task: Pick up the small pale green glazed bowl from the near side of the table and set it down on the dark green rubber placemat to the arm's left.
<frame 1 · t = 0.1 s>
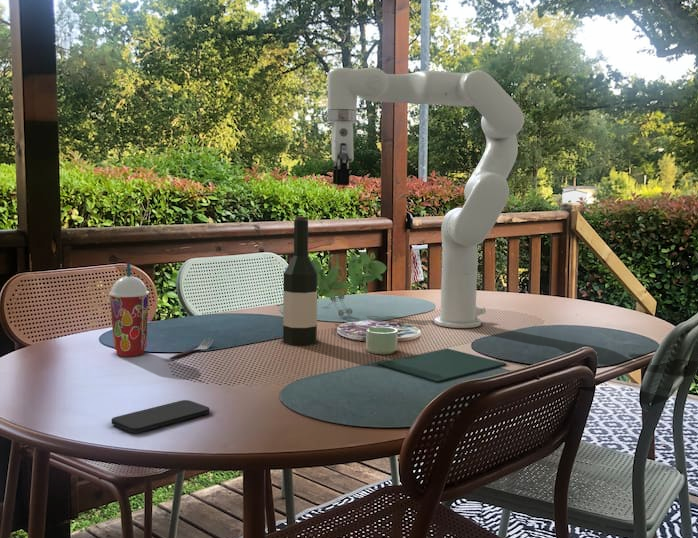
hand: (340, 184, 196), 37 cm above the table, tool pointing down, fingers open, 9 cm apart
bowl: (381, 351, 173), on the table
wine bottle: (300, 342, 181), on the table
smoothie: (130, 354, 166), on the table
placemat: (442, 365, 162), on the table
phone: (161, 419, 124), on the table
plant cuttings: (330, 315, 214), on the table
fork: (190, 354, 168), on the table
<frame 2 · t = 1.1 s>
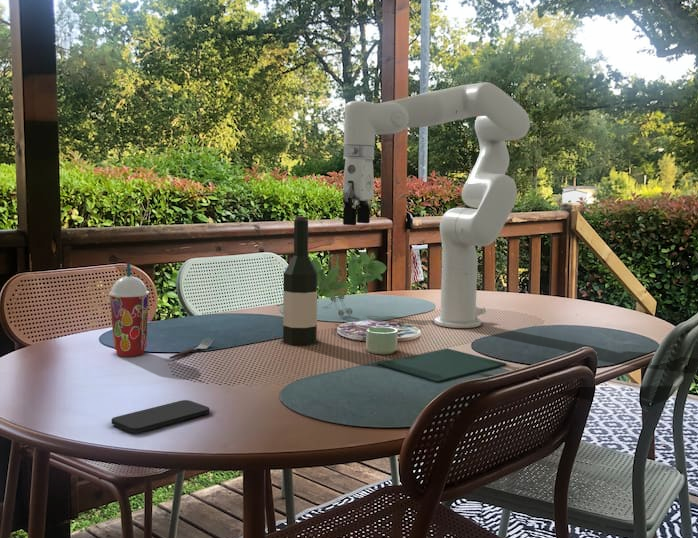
hand: (356, 224, 185), 28 cm above the table, tool pointing down, fingers open, 9 cm apart
nothing on the table moved.
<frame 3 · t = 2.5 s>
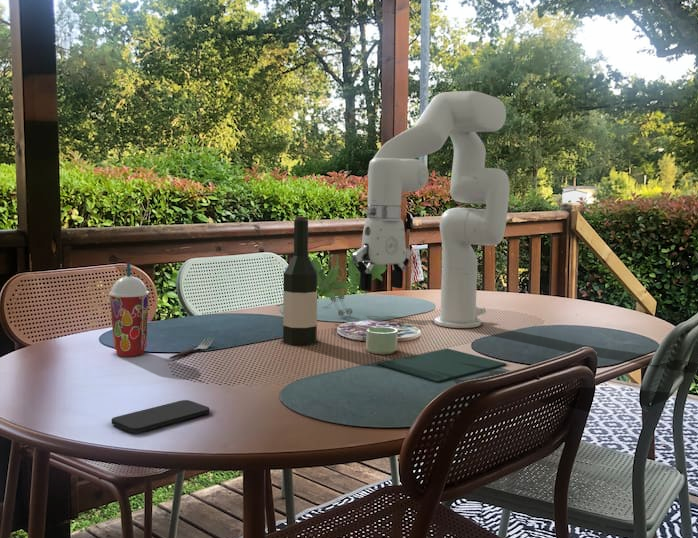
hand: (381, 289, 171), 14 cm above the table, tool pointing down, fingers open, 9 cm apart
nothing on the table moved.
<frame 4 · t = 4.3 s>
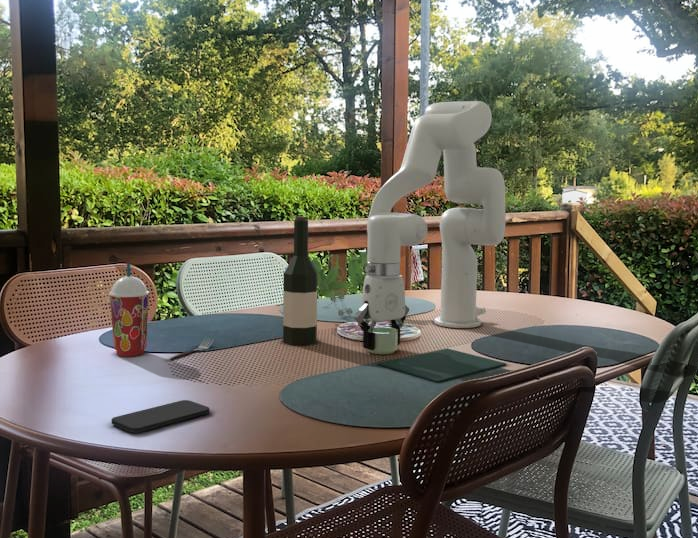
hand: (381, 345, 173), 1 cm above the table, tool pointing down, fingers closed on bowl, 7 cm apart
bowl: (381, 351, 173), on the table, touching gripper
everything else where it was.
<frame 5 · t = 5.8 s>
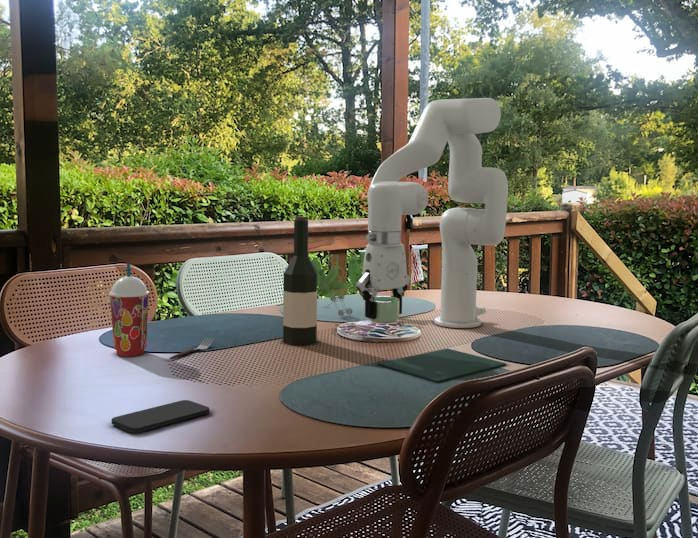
hand: (383, 315, 172), 8 cm above the table, tool pointing down, fingers closed on bowl, 7 cm apart
bowl: (383, 320, 172), point 7 cm above the table, touching gripper
everything else where it was.
when the fingers open (2 cm above the table, at t = 11.2 s): bowl stays where it is, resting on placemat.
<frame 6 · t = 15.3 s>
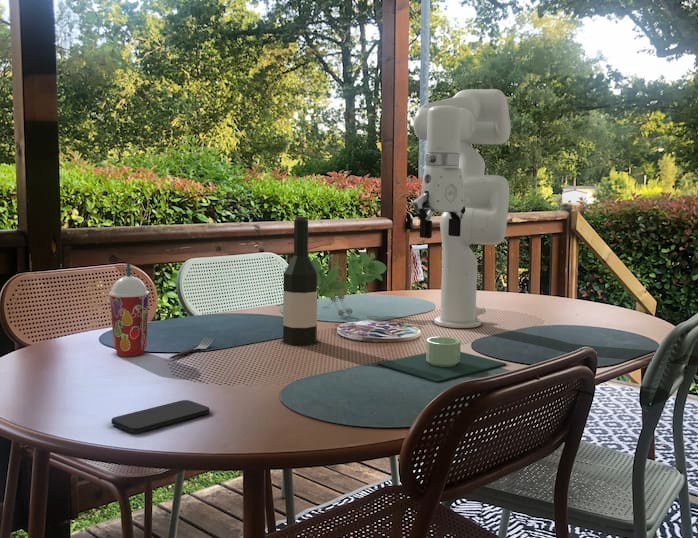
hand: (440, 236, 173), 26 cm above the table, tool pointing down, fingers open, 9 cm apart
bowl: (442, 363, 161), resting on placemat
everything else where it was.
at the end: bowl inside the target area on the placemat (0.0 cm from its centre), point 0.4 cm above the placemat's base; bowl tilted 0°; the gripper is holding nothing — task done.
